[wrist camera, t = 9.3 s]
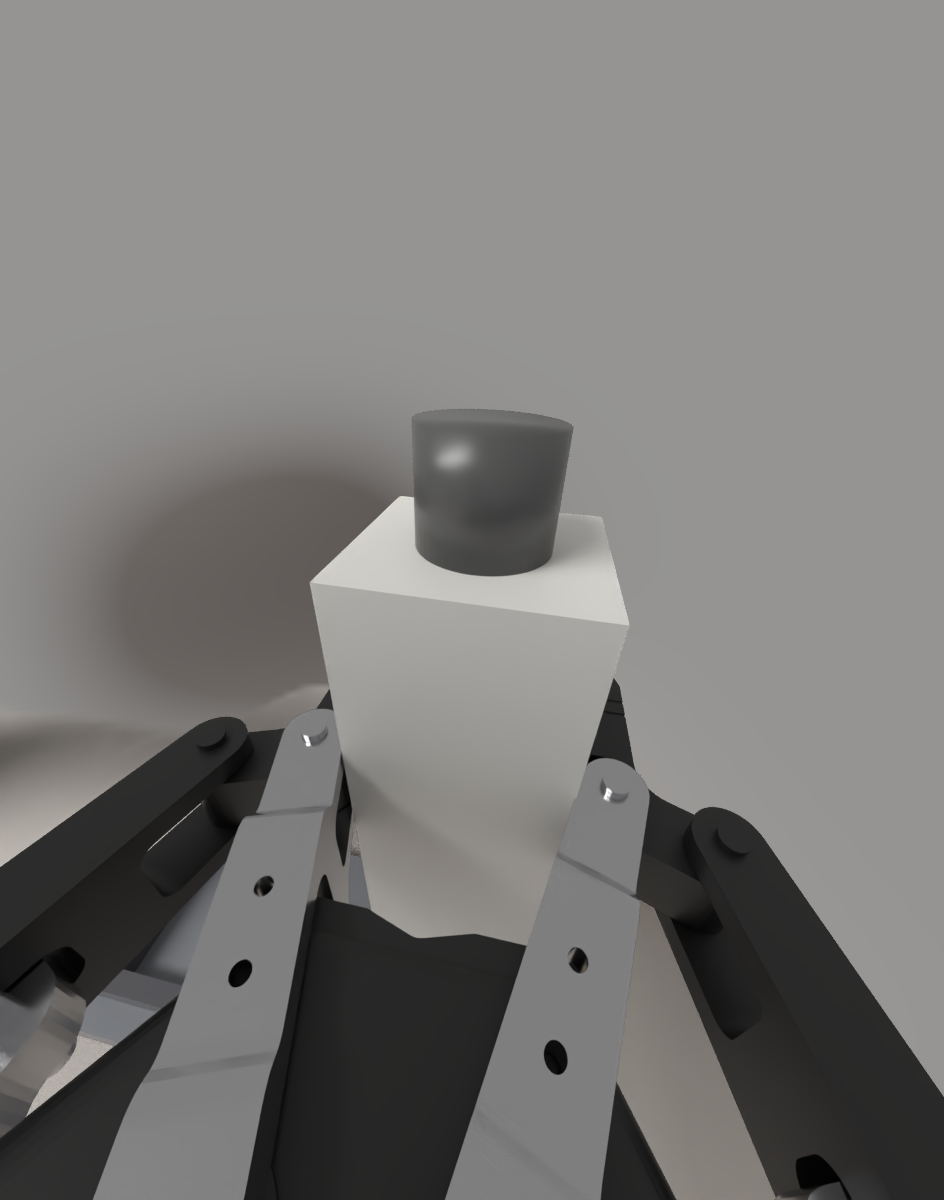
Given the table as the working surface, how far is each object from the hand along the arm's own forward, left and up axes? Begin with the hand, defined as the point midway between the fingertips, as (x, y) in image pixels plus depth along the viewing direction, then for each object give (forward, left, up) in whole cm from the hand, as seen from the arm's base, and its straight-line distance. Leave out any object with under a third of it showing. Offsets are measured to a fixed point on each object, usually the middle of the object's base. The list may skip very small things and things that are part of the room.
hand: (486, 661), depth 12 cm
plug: (0, -3, -7) cm, 8 cm away
